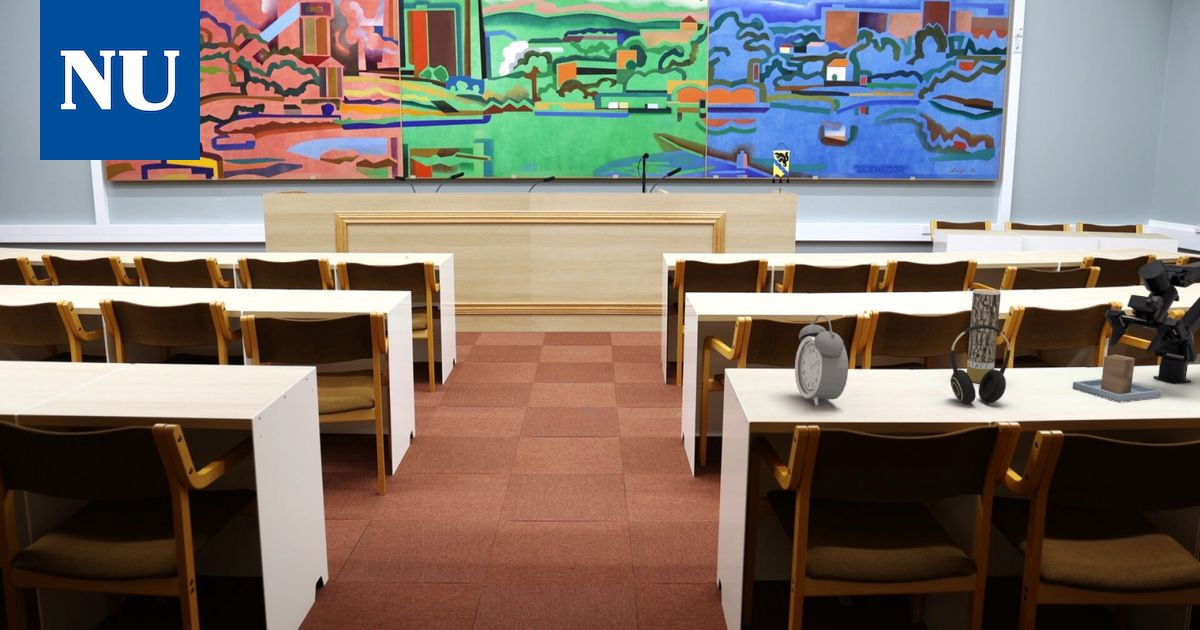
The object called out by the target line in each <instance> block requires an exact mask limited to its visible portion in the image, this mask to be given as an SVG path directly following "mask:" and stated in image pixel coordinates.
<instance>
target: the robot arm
mask: <svg viewBox="0 0 1200 630" xmlns="http://www.w3.org/2000/svg"><path fill="white" fill-rule="evenodd" d="M1137 273H1138V276H1139V279H1140V280H1141V282H1142V284H1143V285H1144V288H1145V289H1146V291H1148V292H1149V294H1148V295H1139V294H1131V295H1130V298H1129V300H1128V303H1127V307H1128V308H1130V309H1132V310H1131V313H1132V315H1134V317H1133V316H1127V314H1126V312H1125V310H1121V309H1114V308H1111V309H1109V308H1108V310H1107V311H1106V312H1105V314H1104V318H1105V320H1106V321H1107V322H1108V325H1109V327H1110V328H1111V329H1112V330H1111V335H1110V336H1111V338H1110V343H1109V344H1110V347H1114V346H1115V345H1117V343H1118V342H1119V341H1120V340H1121V339H1122V338H1123V336H1124V335H1125V334H1126V333H1127V331H1126V330H1127V329H1128V328H1129V327H1130V325H1131V326H1137V327H1142V328H1144V329H1151V330H1156V334H1155V335H1154V337H1153V338H1152V340H1151V342H1150V343H1149V345H1148V346H1147V348H1146V353H1147V354H1151V353H1154V354H1153V355H1154V357H1159V358H1161V359H1160V363H1159V367H1158V374H1157V375H1154V376H1153V379H1156V380H1160V381H1163V382H1168V383H1172V384H1183V383H1191V382H1192V379H1188V378H1187V373H1188V366H1189V363H1195V362H1196V360H1197V359H1198V358H1197V357H1198V351H1197V349H1196V347H1195V342H1194V335H1195V334H1196V333H1197V331H1198V330H1199V329H1200V296H1199V297H1198V298H1196V300H1195V302H1194V303H1193V304H1191V306H1190V307H1189V308H1188V310H1187V311H1186V312H1185V313H1184V314H1183V315H1182V316H1181V318H1180V319H1178V318H1171V317H1169V315H1170V314H1169V312H1168V311H1169V309H1171V306H1172V305H1173V303H1174V302H1180V296H1179V291H1178V290H1177V288H1183V289H1186V288H1188V287H1190V286H1192V285H1193V284H1195V281H1196V280H1200V261H1196V262H1191V263H1187V264H1183V265H1181V264H1172V263H1164V261H1163V259H1153V261H1152V262H1148V263H1146V264H1144V265H1142V266H1140V268H1139V269H1138V271H1137ZM1176 287H1177V288H1176Z"/></svg>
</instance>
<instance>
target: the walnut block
mask: <svg viewBox="0 0 1200 630" xmlns="http://www.w3.org/2000/svg"><path fill="white" fill-rule="evenodd" d="M1135 361H1136V359H1135V358H1134V357H1129V356H1124V355H1120V354H1112V355H1111V354H1110V355H1107V356H1104V357H1103V365H1102V366H1103V367H1102V375H1101V379H1102V382H1101V389H1102V390H1105V391H1109V392H1112V393H1115V394H1125V393H1129V392H1131V387H1132V383H1133V377H1134V370H1135V369H1134V368H1135Z"/></svg>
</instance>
